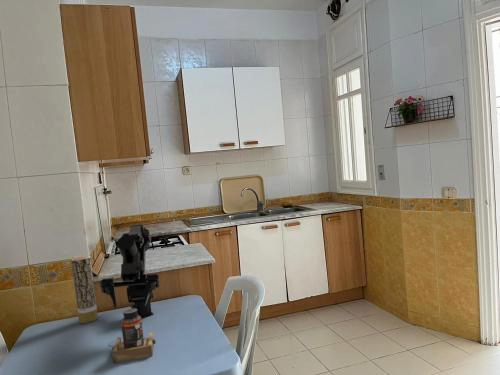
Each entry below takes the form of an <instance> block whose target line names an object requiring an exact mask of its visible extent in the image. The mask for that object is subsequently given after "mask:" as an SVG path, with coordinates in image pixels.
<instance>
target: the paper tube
mask: <svg viewBox="0 0 500 375" xmlns="http://www.w3.org/2000/svg"><path fill="white" fill-rule="evenodd" d="M71 266H72V267H71V268H72V274H73V276H72V277H73V284H74V292H75V300H76V301H75V302H76V309H77V316H78V317H77V318H78V322H79V323H80V324H88V323H92V322H95V321H96V320H97V319H98V310H97V299H96V292H95V283H94V274H93V267H92V266H93V265H92V257H91V254H83V255H78V256H74V257H72V258H71Z"/></svg>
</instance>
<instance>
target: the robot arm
mask: <svg viewBox="0 0 500 375" xmlns="http://www.w3.org/2000/svg"><path fill="white" fill-rule="evenodd" d="M150 243H152V239H151V233H150V230H149V229H147V228H146V227H145V226H144V225H143V224H132V225H130V230H129V231H128V233H123V234H122V235H121V236H120V238H119V239H118V240H117V241H116V246H117V249H118V251H119V254H120V255H121V257H122V264H120V265H121V266H120V278H121V280H116V281H115V279H114V277H105V278H101V280H100V283H99V284H100V285H99V287H100V289H101V292H102V294H106V296H110V298H111V300H112V303H113V306H114V307H113V308H114V310H117V306H118V305H117V295H116V294H117V293H116V288H120V287H122V288H124V287H126V296H127V301H128V304H131V305H130V309H137V312H138V315H139V316H140V317H141V319H143V318H146V317H149V316H152V315H154V312H153V311H152V305H151V300H153V299H154V291H155V290H156V289H157V288H160V274H158V273H155V272H154V273H146V252H147V250H148V249H150Z"/></svg>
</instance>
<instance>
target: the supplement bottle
mask: <svg viewBox="0 0 500 375" xmlns="http://www.w3.org/2000/svg"><path fill="white" fill-rule="evenodd" d="M142 320H143V319H142V318H141V317H140V316H139V315H138V312H137V309H131V308H129V309H125V310H123V318H122V319H121V321H120V324H121V334H122V340H123V341H122V342H123V344H124V349H129V348H134V347H140V346H143V345H144V338H145V337H144V330H143V322H142Z"/></svg>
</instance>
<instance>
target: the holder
mask: <svg viewBox="0 0 500 375" xmlns="http://www.w3.org/2000/svg"><path fill="white" fill-rule="evenodd" d="M143 338H144V345H143V346H140V347H134V348H129V349H124V344H123V341H122V337H121V336H119V337H117V339H116V341H115V344H114V346H112V348H111V350H112V352H111V356H112V363H113V364H116V363H117V364H118V363H122V362H127V361H133V360H138V359H142V358H146V357H147V358H148V357H152V356H153V355H154V345H155V344H156V342H157V341H156V339H155V336H154V331H153V330H152V331H150V332H149V336H148V337H143Z"/></svg>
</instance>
